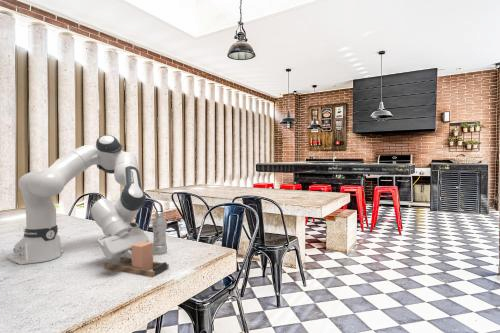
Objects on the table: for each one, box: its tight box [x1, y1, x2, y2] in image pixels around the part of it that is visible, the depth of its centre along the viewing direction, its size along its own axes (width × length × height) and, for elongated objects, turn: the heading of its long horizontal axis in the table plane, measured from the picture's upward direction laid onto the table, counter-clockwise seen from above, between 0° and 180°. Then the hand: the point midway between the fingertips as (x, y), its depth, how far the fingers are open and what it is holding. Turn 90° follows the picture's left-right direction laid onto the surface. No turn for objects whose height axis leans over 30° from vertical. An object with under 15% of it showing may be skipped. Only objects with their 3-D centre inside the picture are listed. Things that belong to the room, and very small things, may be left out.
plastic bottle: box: [152, 210, 168, 255], centre depth 137 cm, size 6×7×20 cm
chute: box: [103, 256, 170, 278], centre depth 116 cm, size 24×9×4 cm, turn 67°
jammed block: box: [131, 241, 154, 270], centre depth 115 cm, size 5×6×10 cm
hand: (137, 258), depth 117 cm, fingers closed, pressing on jammed block
